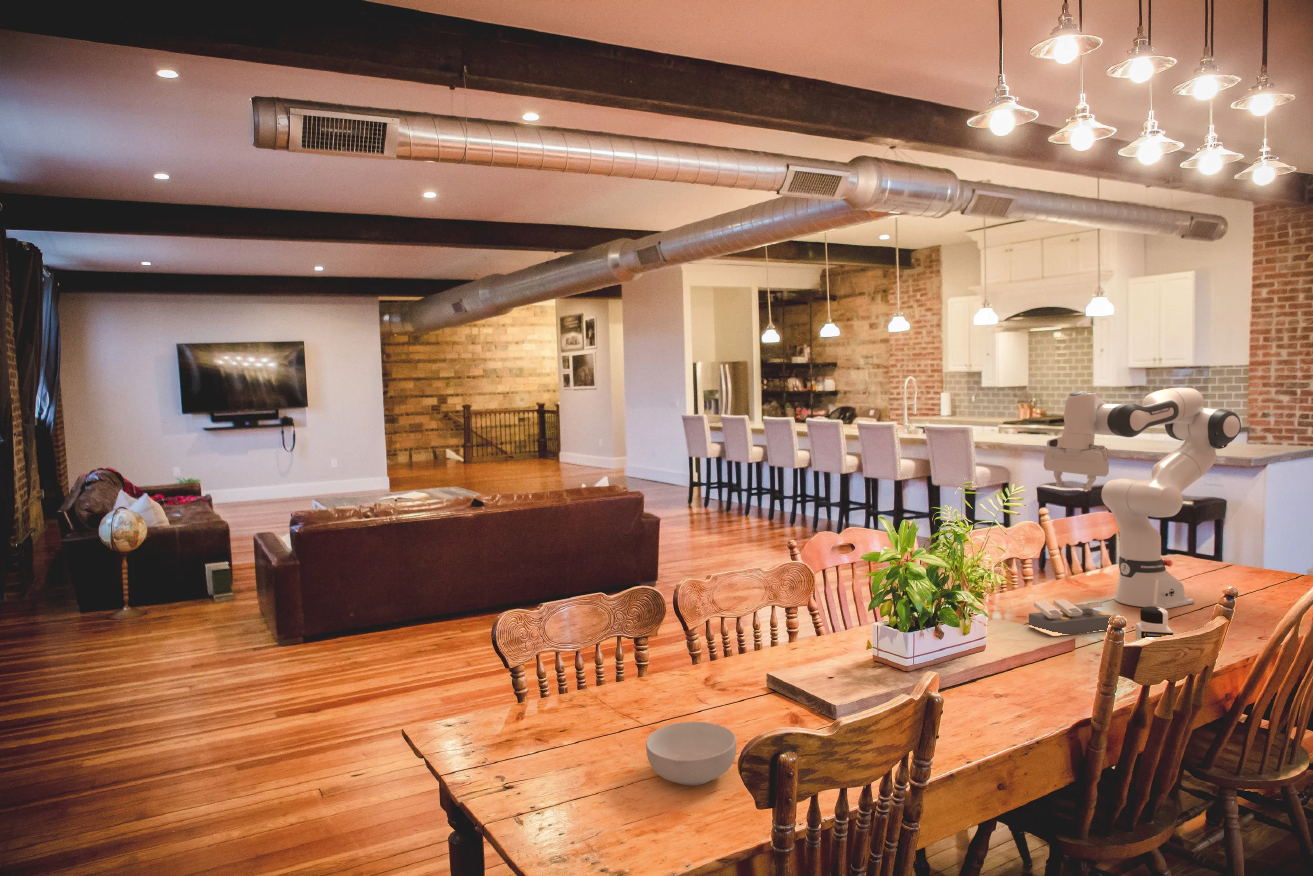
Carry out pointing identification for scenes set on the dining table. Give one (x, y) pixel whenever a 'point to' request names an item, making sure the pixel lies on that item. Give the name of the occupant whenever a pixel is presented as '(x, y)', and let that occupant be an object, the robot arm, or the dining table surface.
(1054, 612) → the rocker
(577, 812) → the dining table surface
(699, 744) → the cereal bowl
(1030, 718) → the dining table surface
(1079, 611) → the rocker
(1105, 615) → the switch unit
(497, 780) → the dining table surface
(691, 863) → the dining table surface
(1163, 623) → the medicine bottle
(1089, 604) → the rocker
